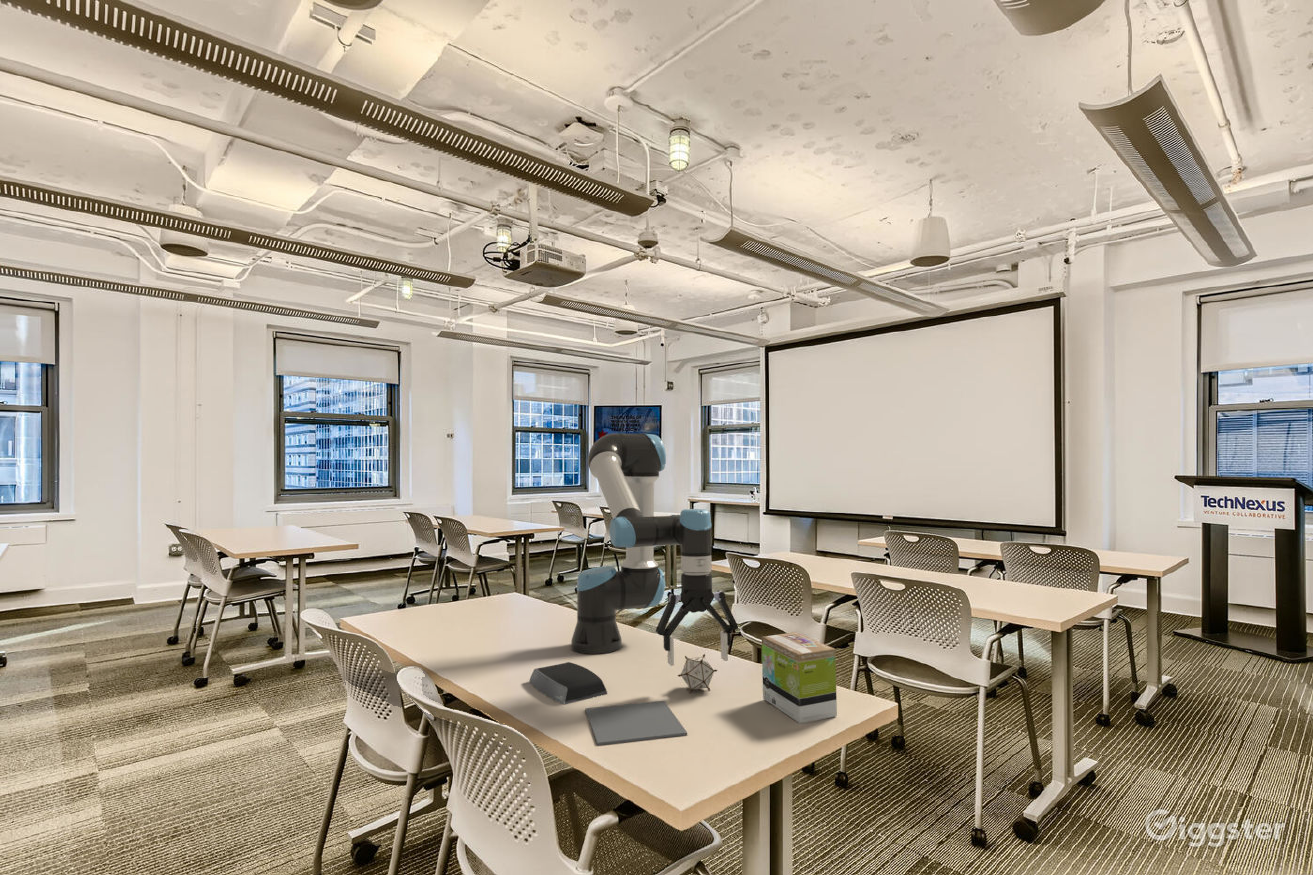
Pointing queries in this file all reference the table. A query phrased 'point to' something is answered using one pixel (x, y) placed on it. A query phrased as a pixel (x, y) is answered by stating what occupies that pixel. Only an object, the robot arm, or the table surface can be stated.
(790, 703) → the tea box
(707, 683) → the game die
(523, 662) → the table surface
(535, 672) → the external hard drive
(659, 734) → the mat
